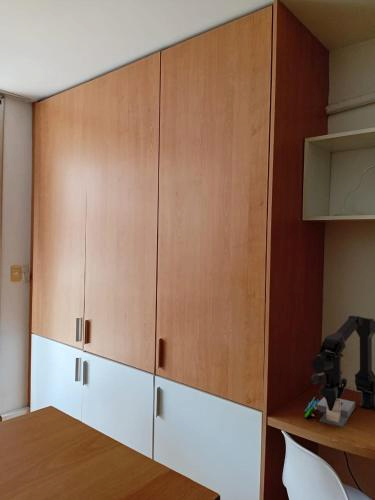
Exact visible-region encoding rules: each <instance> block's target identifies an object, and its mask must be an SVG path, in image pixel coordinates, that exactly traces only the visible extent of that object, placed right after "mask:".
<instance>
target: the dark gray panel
mask: <svg viewBox="0 0 375 500" xmlns="http://www.w3.org/2000/svg"><path fill="white" fill-rule="evenodd" d="M348 420H349V417H348V418H347V417H343V416H341V419H340V420H339V422H334V421H330V420H326V412H324V413H323V415H322V416H321V418H320V419H319V420H318V421H319V422H320V423H323V424H328V425H330V426H331V425H332V426H335V427H339V428H343V427H344V426H345V424H346V423H347V422H348Z"/></svg>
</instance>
